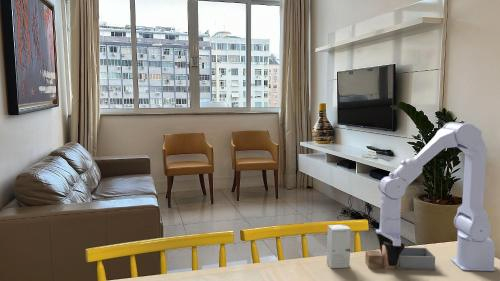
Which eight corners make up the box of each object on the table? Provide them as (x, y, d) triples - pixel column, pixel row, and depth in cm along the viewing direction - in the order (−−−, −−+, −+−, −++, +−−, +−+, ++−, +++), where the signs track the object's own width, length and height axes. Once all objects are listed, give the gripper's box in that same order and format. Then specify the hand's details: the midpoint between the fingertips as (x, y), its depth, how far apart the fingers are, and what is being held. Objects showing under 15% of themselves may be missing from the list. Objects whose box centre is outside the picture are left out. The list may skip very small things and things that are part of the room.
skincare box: (331, 268, 113) (331, 229, 112) (326, 262, 118) (326, 224, 117) (350, 267, 114) (351, 228, 113) (344, 261, 119) (345, 223, 117)
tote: (425, 260, 119) (425, 247, 119) (434, 269, 113) (435, 257, 112) (392, 259, 120) (392, 247, 120) (399, 269, 113) (400, 256, 113)
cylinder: (393, 263, 117) (393, 244, 117) (397, 268, 114) (398, 249, 113) (380, 262, 118) (380, 244, 117) (383, 268, 114) (384, 249, 113)
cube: (378, 262, 118) (378, 250, 117) (381, 268, 114) (382, 255, 113) (365, 262, 118) (365, 250, 118) (368, 268, 114) (368, 255, 114)
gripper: (370, 209, 121) (369, 250, 123) (383, 224, 107) (381, 270, 109) (393, 209, 121) (391, 250, 122) (409, 224, 107) (407, 270, 108)
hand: (388, 260), depth 115 cm, fingers open, 7 cm apart
